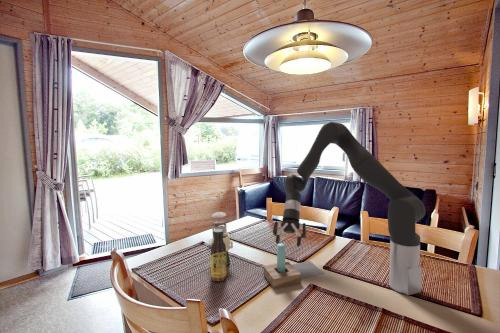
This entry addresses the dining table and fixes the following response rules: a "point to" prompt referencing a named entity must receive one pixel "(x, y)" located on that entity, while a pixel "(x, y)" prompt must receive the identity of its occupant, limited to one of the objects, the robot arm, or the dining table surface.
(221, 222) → the french press
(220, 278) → the sauce bottle
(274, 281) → the socket block
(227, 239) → the character mug
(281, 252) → the peg
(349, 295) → the dining table surface
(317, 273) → the mat
